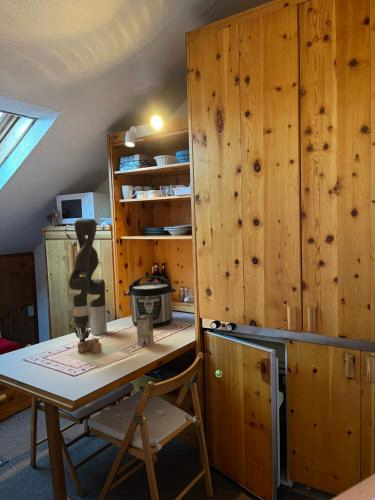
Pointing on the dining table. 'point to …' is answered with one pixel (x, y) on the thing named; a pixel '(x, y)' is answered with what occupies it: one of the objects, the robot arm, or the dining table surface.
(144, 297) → the pressure cooker
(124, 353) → the board
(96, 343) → the t block
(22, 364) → the dining table surface
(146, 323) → the coffee box
